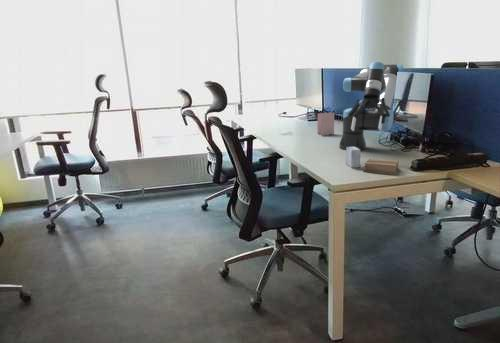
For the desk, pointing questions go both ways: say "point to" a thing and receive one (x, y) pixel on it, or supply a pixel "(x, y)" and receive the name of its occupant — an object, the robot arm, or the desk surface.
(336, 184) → the desk surface
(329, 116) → the pink rectangular block
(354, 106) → the robot arm
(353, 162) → the medicine box
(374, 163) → the plinth
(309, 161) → the desk surface
